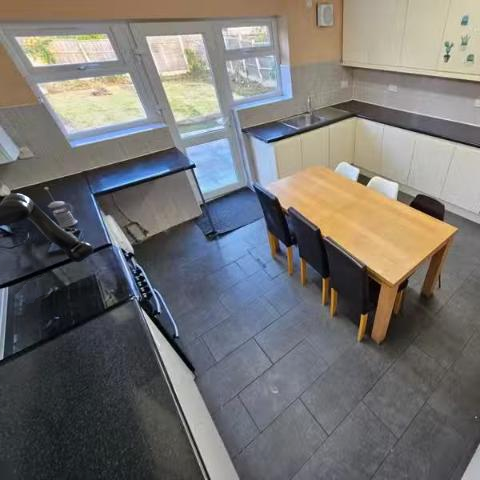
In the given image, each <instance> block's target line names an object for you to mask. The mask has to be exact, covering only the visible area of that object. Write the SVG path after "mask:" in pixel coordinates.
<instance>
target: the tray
mask: <svg viewBox="0 0 480 480" xmlns="http://www.w3.org/2000/svg"><path fill="white" fill-rule="evenodd" d="M76 231H77V233H73V235H74V236H75V237H77V238H78V240H79V241H82V242H83V239H84V237H85V233H86V231H85V230H84V228H82V229H81V228H80V229H76ZM56 248H58V250H54V249H56ZM46 253H47V255H48V256H50V254H51V255H55V254H54V253H56V254H59V253H65V252H64V251H63V250H62V249H61V248H60V247H59V246H57V245H56V244H54V243H52V244H50V245H49V248H48V250H47V252H46Z"/></svg>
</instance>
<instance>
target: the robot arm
mask: <svg viewBox="0 0 480 480" xmlns="http://www.w3.org/2000/svg"><path fill="white" fill-rule="evenodd" d="M26 219H28V220H29V221H30V222H32V223H33V224H34V225H35V226H36V228H37V229H38V230H39V231H40V232H41V233H42V235H44V237H45V238H46V242H47V243H48V244H49V245H51V244H52V243H54V244H56V245H57V246H59V247H60V248H61V249H62V250H63V251H64V252H63V253H65V255H66V256H67V257H68V258H69V259H70V260H71V261H72V262H74V263H81V262H83V261H84V260H85V259H87V258H88V257H89V256H90V255H92V254H93V253H94V251H95V247H94V246H93V245H92V244H90V242H89V243H88V242H86V241H83V240H82V241H79V240H78V238H77V237H75V236H74V235H73V233H77V229H76V228H75V227H69V226H68V227H63V228H62V227H60V226H59V224H57V223H56V222H55V221H54V220H52V219H51V218H50V217H49V216H48V215H47V214H46V213H45V212H44V211H43V210H42V209H41V208H40V207H39V206H38V205H37V204H36V203H35V201H33V200H32V199H31V198H30V197H28V196H27V195H24V194H22V193H16V192H15V193H9V194H7V195H6V196H4V198H3V199H2V201H1V202H0V227H3V226H6V225H11V224H14V223H18V222H22V221H23V220H24V221H25V220H26Z"/></svg>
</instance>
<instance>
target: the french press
mask: <svg viewBox="0 0 480 480" xmlns="http://www.w3.org/2000/svg"><path fill="white" fill-rule="evenodd" d="M43 189H44V191H47V192H48V193H49V195H50V197H51V200H53V202H50V203H49V204H48V205H47V207H48V208H49V209H54V210H53V211H52V214H53V216H54V218H55V219H56V221H57V222H58V226H60V227H62V228H63V229H64V228H67V227H68V228H69V227H72V226H74V225H76V224H77V223H78V222H79V221H78V220H77V219H75V217H74V216H73V213H74V212H75V211H74V207H73V206H72V205H71V204H70V203H67V202H66V203H65V201H61V200H57V201H55V200H54V198H53V197H52V195H51V193H50V192H49V187H48V186H45V187H44V188H43ZM67 205H69V207H70V210H71V211H70V210H69V209H68V207H66V206H67ZM63 206H65V207H63Z"/></svg>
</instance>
